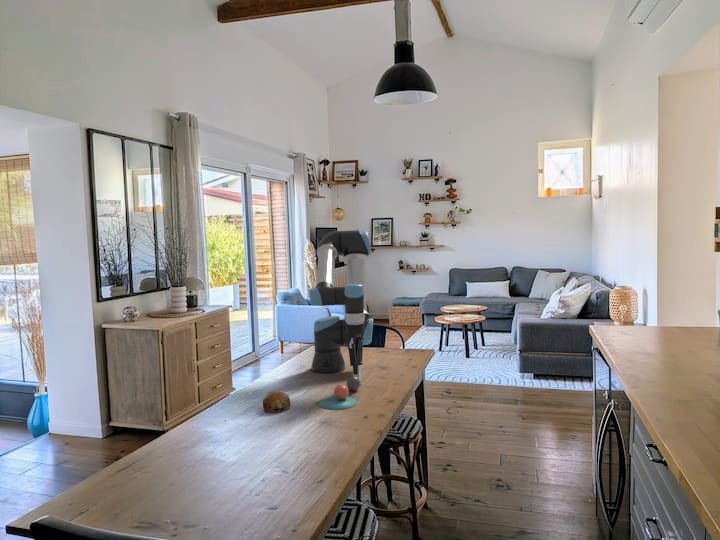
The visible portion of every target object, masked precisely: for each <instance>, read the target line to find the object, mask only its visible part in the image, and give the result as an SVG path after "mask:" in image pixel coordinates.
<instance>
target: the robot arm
mask: <svg viewBox="0 0 720 540" xmlns="http://www.w3.org/2000/svg"><path fill="white" fill-rule="evenodd" d="M369 236H370V235H369V233H368V231H367V230H361V229H360V230H359V229H357V230H335V231H334V230H333V231H330V232H329V233H327V234H325V236H324V237H322V238H321V239H320V241H319V243H318V244H317V247H316V256H317V269H316V270H317V271H316V278H315V279H316V281H315V282H316V283H315V286H314V287H311V288H310V290H309V300H310V305H312V306H316V307H317V306H319V307H325V306H344V307H345V308H344V309H345V313H344V314H345V315H344V318H343V319H341V318H340V316H339V315H331V316H325V317H321V318H318V319H316V320H315V321H314V323H313V336H314V341H313V342H314V353H313V358H312V361H311V371H312V372H314V373H320V374H332V373H338V372H341V371H343V370H345V369H346V363H345V360H344V356H343V354H342V351H341V346H347V349H348V356H349V362H350V367H352V376H355V377H357V378H358V379H359V380H360V383H361V381H362V380H361V379H362V373H361V365H363V351H364V346H367V345H370V344H371V342H372V338H373V328H374V318H372V317H371V314H370V313H369V312H368V311H367V284H366V283H367V282H366V279H367V278H366V261H367V260H368V259H369V256H370V255H372V248H371V241H370V237H369ZM338 256H343V260H344V261H345V262H346V284H345V285H344V286H334V285H335V269H336V267H335V265H336V258H337V257H338Z"/></svg>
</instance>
